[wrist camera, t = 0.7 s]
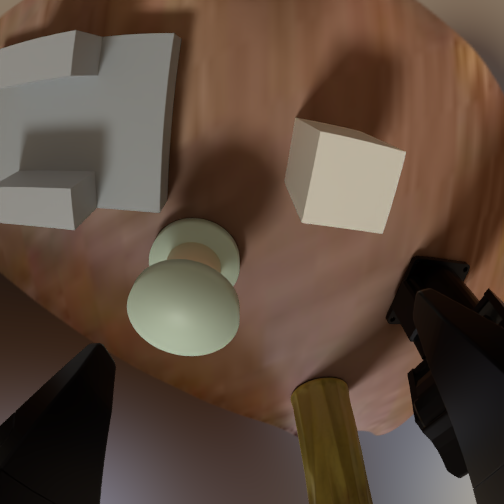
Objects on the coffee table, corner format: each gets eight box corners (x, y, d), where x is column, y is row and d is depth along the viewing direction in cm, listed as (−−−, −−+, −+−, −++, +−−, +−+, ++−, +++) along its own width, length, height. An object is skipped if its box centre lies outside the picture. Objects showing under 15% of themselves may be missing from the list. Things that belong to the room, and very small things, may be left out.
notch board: (181, 38, 14) (159, 21, 9) (167, 200, 19) (145, 237, 14) (-2, 63, 13) (-49, 68, 8) (1, 191, 17) (-39, 219, 13)
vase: (288, 381, 28) (306, 520, 16) (350, 371, 28) (386, 503, 15) (291, 411, 31) (306, 528, 19) (345, 402, 31) (372, 515, 18)
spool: (244, 223, 20) (246, 277, 14) (234, 297, 23) (233, 360, 17) (151, 213, 19) (121, 263, 14) (154, 289, 22) (133, 348, 17)
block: (359, 130, 17) (406, 152, 12) (345, 191, 19) (382, 233, 14) (295, 117, 16) (320, 131, 11) (284, 181, 18) (301, 222, 13)
